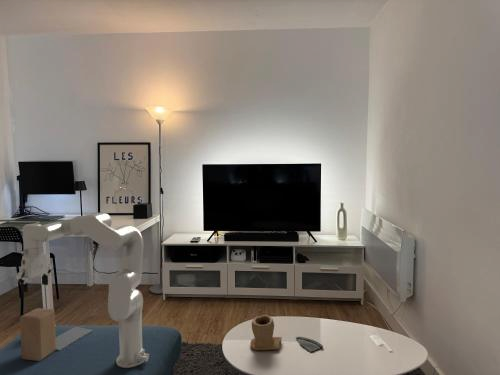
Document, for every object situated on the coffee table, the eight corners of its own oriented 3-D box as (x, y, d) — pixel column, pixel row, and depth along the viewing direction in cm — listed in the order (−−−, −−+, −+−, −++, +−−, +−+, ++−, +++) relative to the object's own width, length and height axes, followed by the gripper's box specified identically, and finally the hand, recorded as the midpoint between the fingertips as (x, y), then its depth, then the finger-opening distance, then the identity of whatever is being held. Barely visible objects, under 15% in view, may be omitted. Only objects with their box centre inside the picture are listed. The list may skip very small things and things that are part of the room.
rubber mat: (93, 330, 178) (93, 330, 178) (59, 351, 158) (59, 349, 158) (75, 327, 182) (75, 326, 182) (40, 346, 162) (40, 345, 162)
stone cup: (250, 354, 154) (249, 322, 154) (250, 341, 166) (250, 311, 165) (283, 354, 154) (283, 322, 153) (281, 341, 166) (281, 311, 165)
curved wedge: (305, 336, 171) (305, 333, 171) (324, 349, 159) (324, 345, 159) (292, 341, 167) (292, 337, 167) (310, 354, 155) (310, 350, 155)
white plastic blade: (382, 353, 156) (382, 350, 155) (368, 337, 170) (368, 335, 170) (392, 352, 156) (392, 350, 156) (377, 336, 171) (377, 334, 171)
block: (39, 362, 149) (37, 318, 148) (20, 359, 151) (18, 316, 150) (57, 350, 159) (55, 308, 158) (38, 348, 161) (37, 307, 160)
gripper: (20, 256, 144) (22, 296, 145) (56, 247, 160) (58, 283, 161) (8, 255, 146) (10, 293, 147) (45, 246, 163) (46, 281, 164)
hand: (35, 288), depth 154 cm, fingers open, 9 cm apart
